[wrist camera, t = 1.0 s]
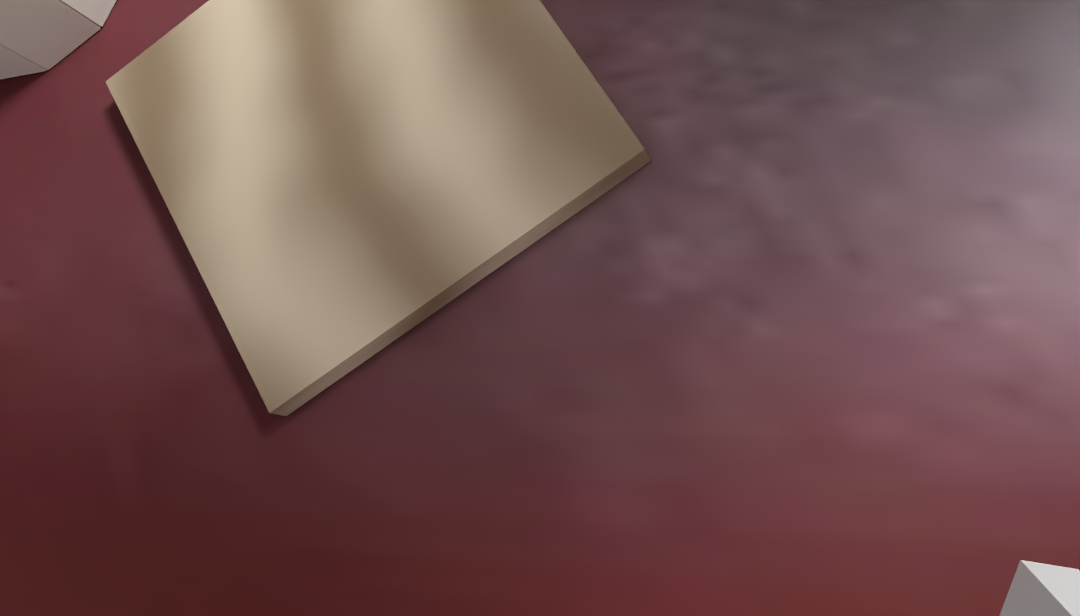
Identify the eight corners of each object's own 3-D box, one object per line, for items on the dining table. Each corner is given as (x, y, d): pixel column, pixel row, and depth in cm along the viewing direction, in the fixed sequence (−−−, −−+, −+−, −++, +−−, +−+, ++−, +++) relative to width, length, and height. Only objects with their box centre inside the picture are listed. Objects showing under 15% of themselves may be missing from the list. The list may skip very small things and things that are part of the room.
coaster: (433, -148, 35) (422, -167, 34) (651, 160, 31) (645, 149, 30) (124, 92, 37) (105, 81, 36) (286, 416, 32) (269, 413, 32)
